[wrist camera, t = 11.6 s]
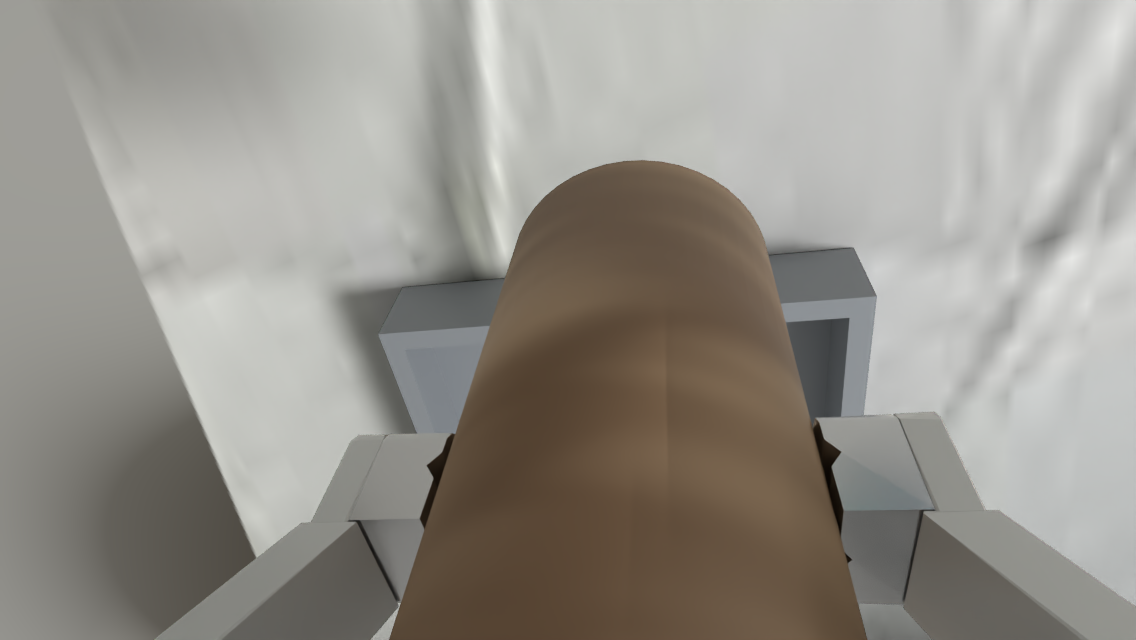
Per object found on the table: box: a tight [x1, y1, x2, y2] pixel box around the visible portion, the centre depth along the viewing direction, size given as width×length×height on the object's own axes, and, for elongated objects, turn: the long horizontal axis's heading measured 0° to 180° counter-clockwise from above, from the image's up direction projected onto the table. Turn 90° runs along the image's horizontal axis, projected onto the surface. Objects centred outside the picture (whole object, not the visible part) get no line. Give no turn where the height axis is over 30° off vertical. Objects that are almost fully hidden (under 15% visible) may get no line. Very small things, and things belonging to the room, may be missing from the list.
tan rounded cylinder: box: [389, 160, 867, 640], centre depth 10 cm, size 5×5×9 cm
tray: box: [378, 248, 877, 434], centre depth 39 cm, size 22×22×4 cm
